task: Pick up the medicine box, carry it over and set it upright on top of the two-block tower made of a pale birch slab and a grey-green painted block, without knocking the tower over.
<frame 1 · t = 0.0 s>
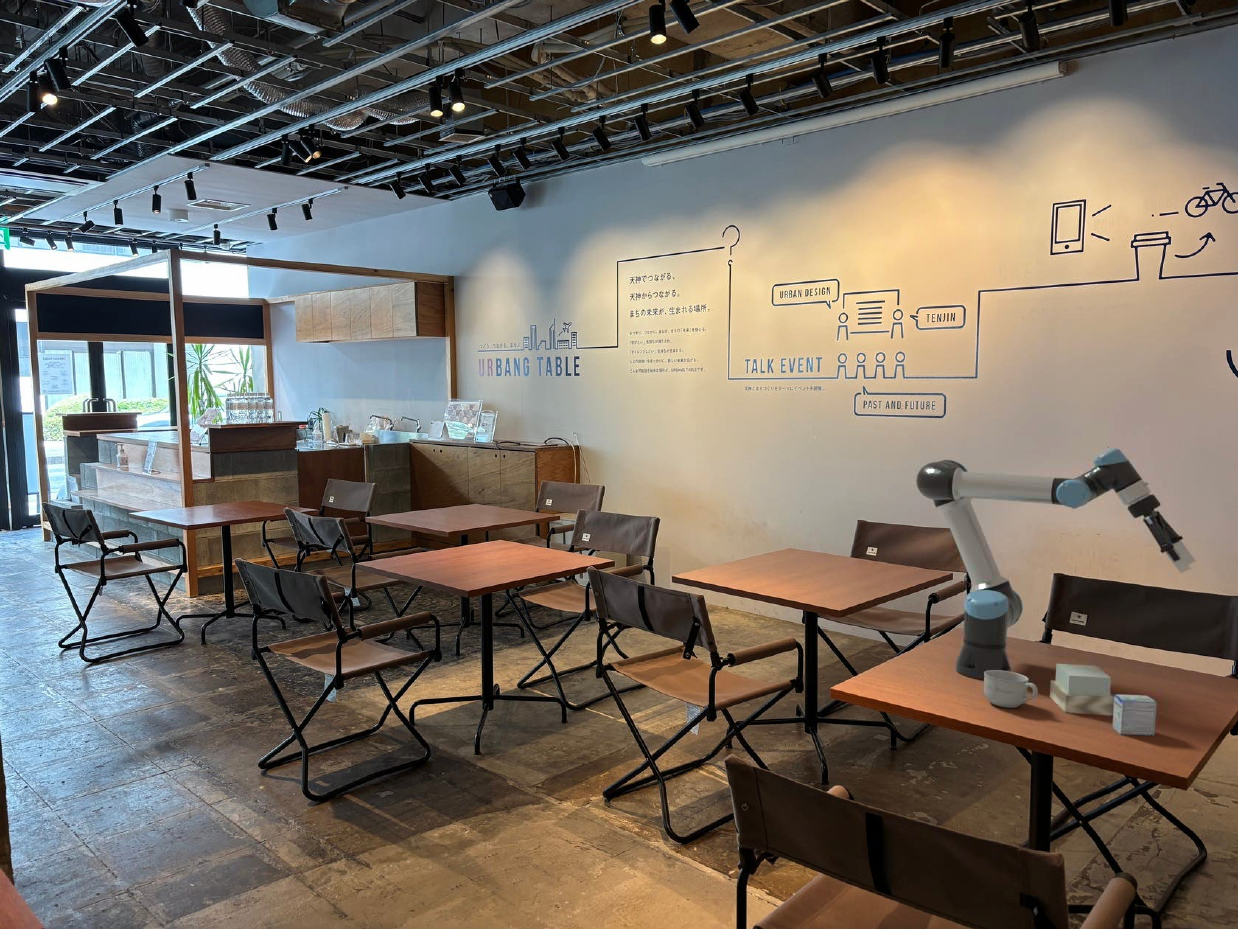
hand: (1188, 567, 235), 36 cm above the table, tool tilted 35°, fingers open, 13 cm apart
birch base block: (1081, 707, 230), on the table, touching grey-green top block
medicine box: (1133, 733, 212), on the table
teacup: (1009, 706, 229), on the table
grey-green top block: (1082, 689, 229), point 5 cm above the table, touching birch base block
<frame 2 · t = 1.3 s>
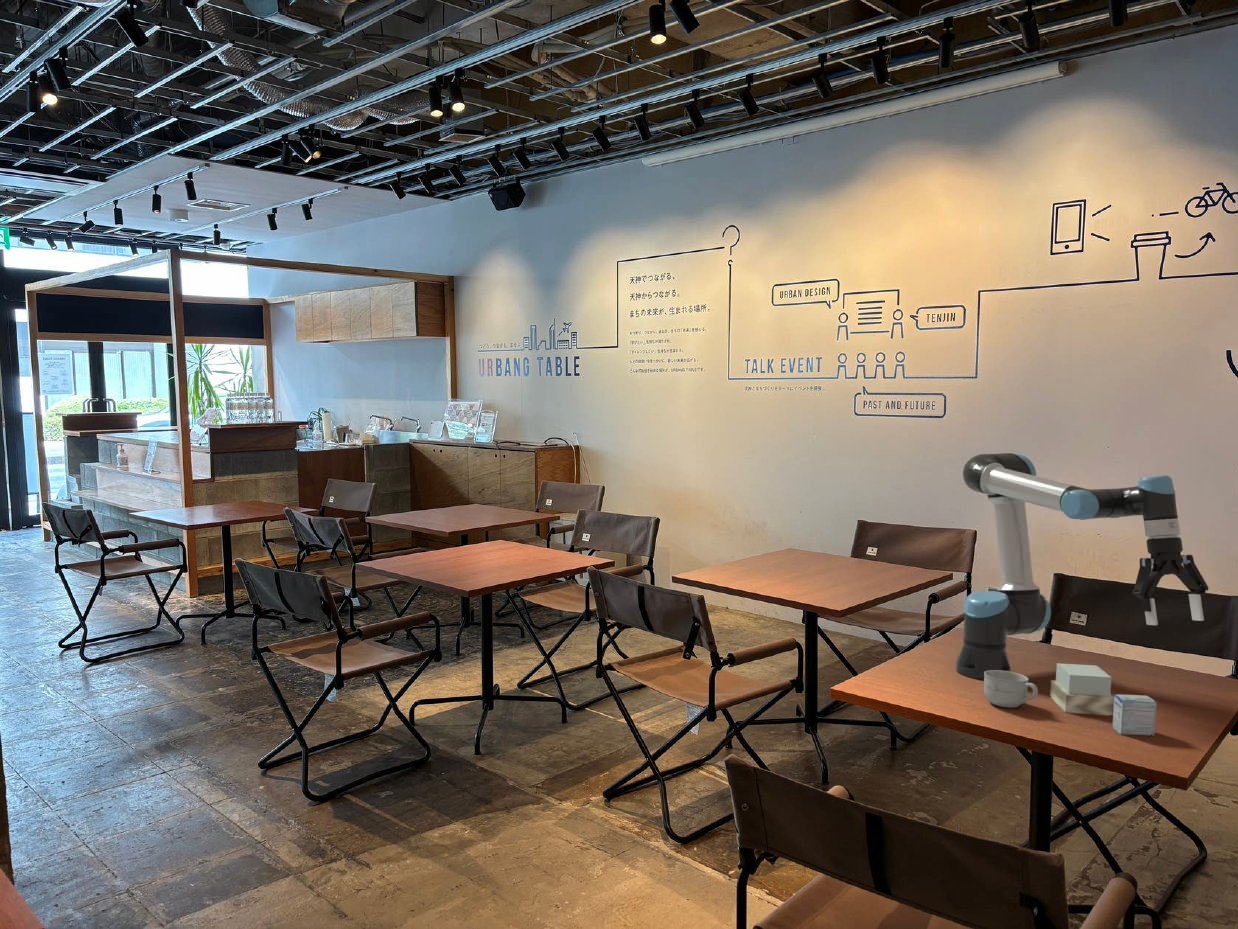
hand: (1175, 622, 216), 26 cm above the table, tool pointing down, fingers open, 13 cm apart
nothing on the table moved.
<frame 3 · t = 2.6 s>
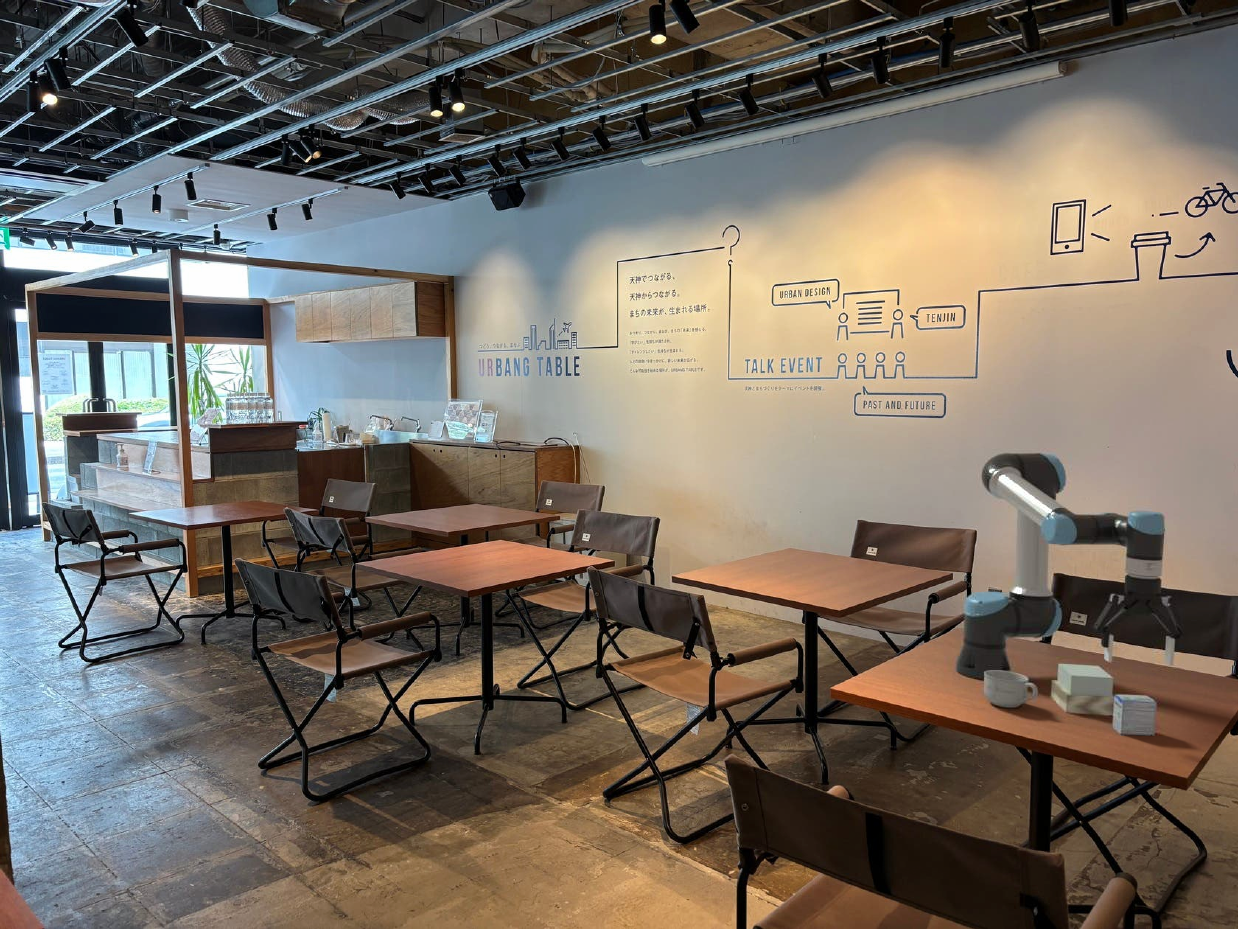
hand: (1138, 662, 211), 17 cm above the table, tool pointing down, fingers open, 13 cm apart
birch base block: (1082, 707, 230), on the table
grey-green top block: (1084, 689, 229), point 5 cm above the table
everything else where it was.
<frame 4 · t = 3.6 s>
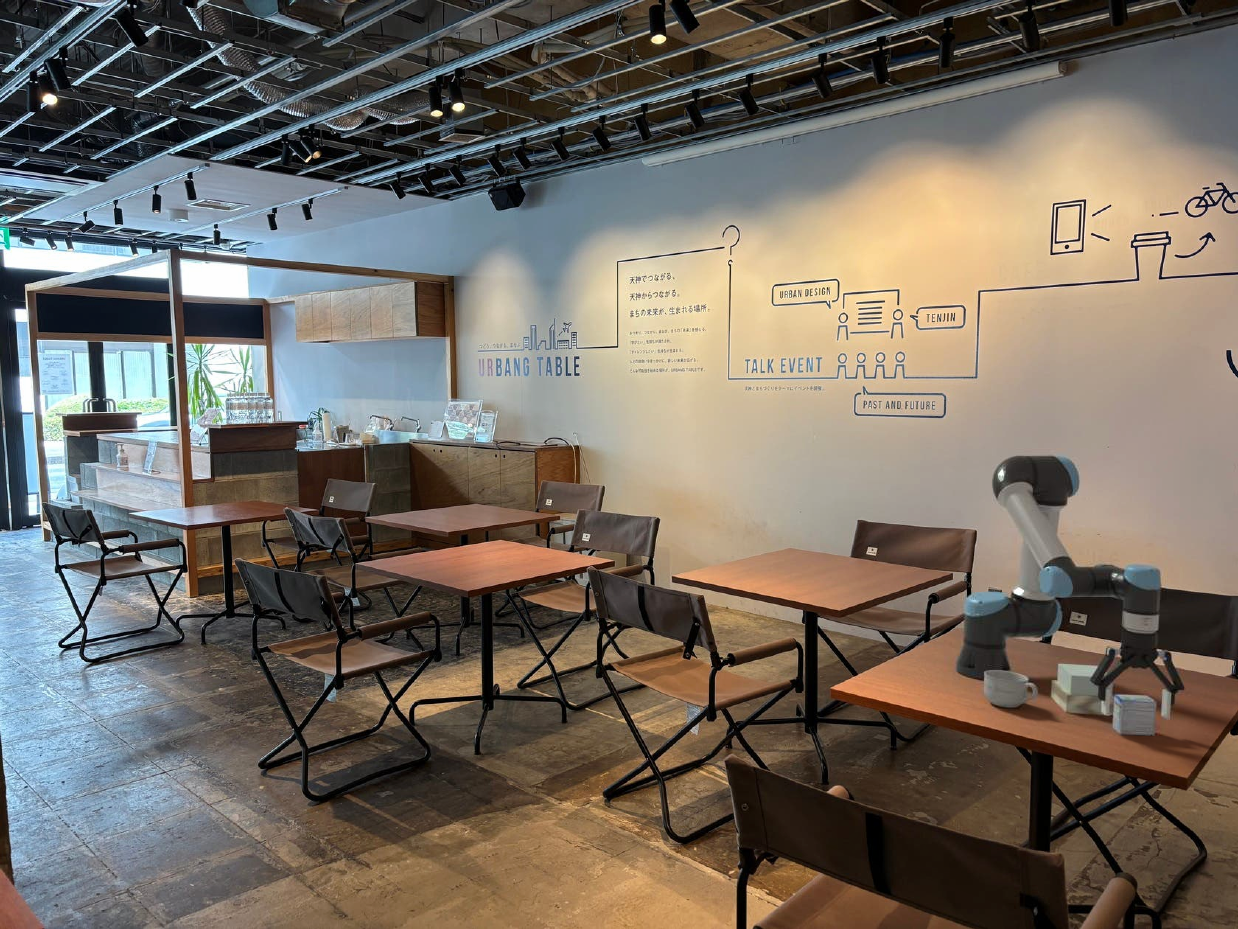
hand: (1135, 715, 212), 4 cm above the table, tool pointing down, fingers open, 13 cm apart
nothing on the table moved.
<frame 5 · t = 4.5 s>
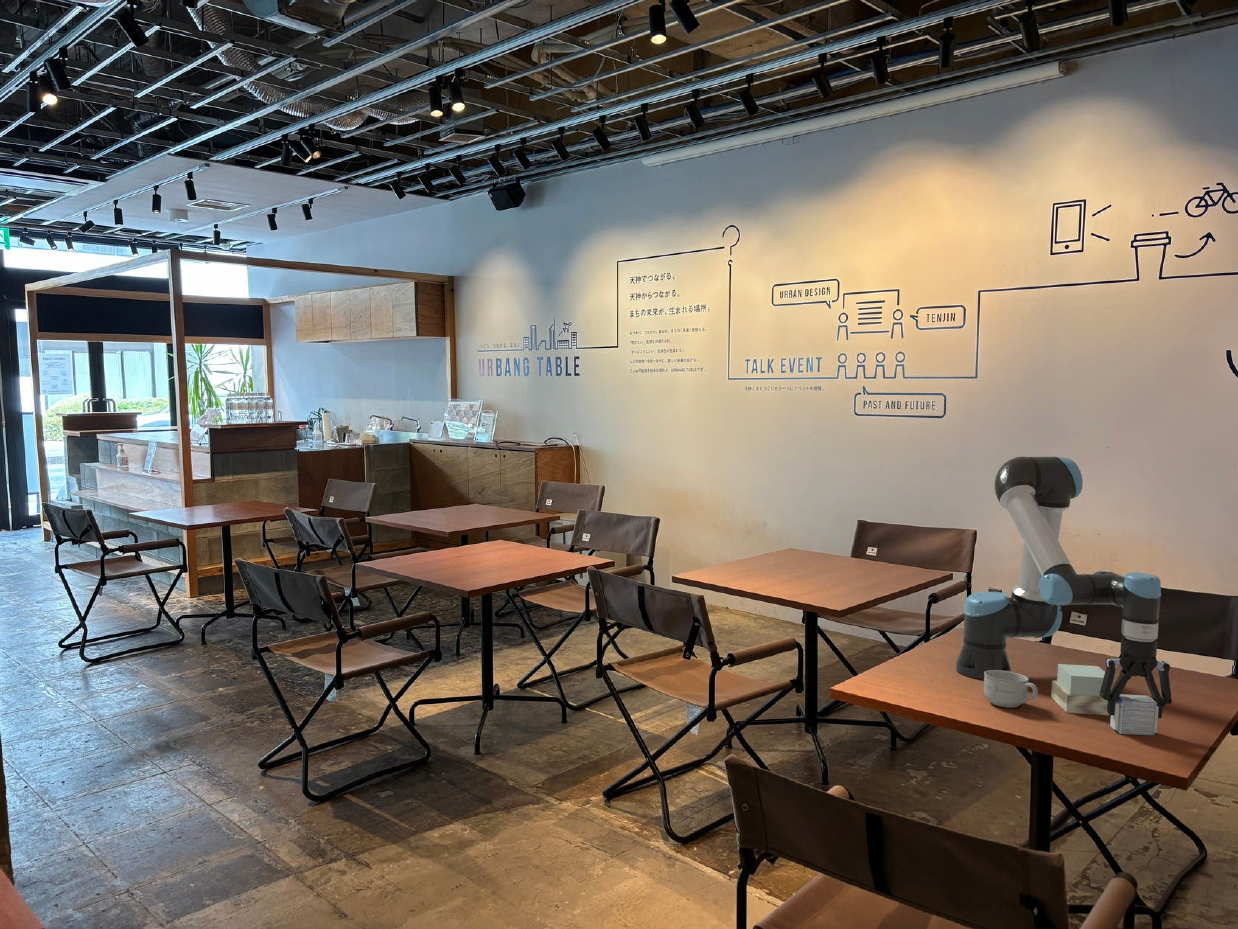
hand: (1133, 729, 212), 1 cm above the table, tool pointing down, fingers closed on medicine box, 8 cm apart
birch base block: (1082, 707, 230), on the table, touching grey-green top block
medicine box: (1133, 732, 212), on the table, touching gripper
grey-green top block: (1083, 689, 229), point 5 cm above the table, touching birch base block
everything else where it was.
when the fingers open (12 cm above the table, at t = 10.3 s): medicine box drops 2 cm, resting on grey-green top block.
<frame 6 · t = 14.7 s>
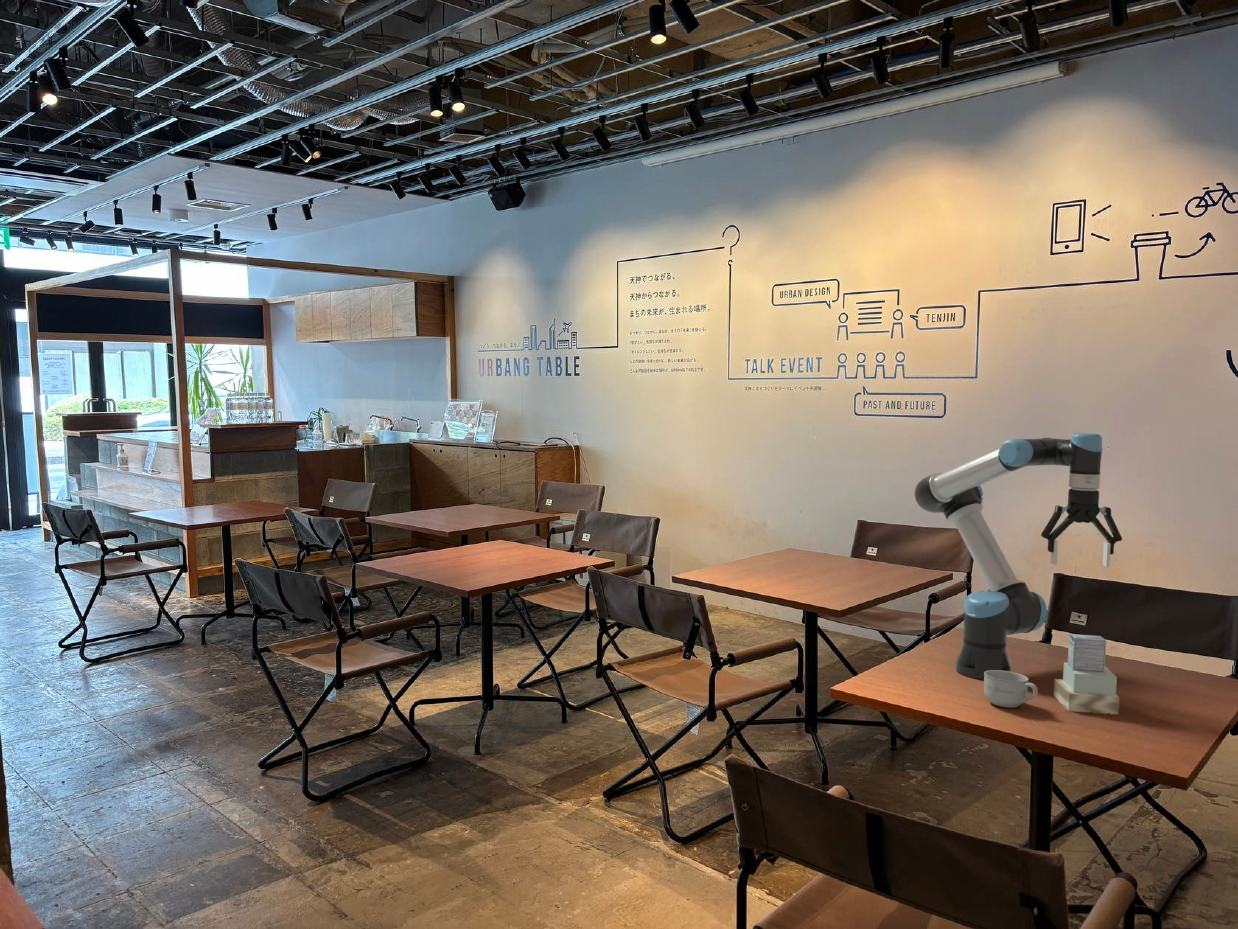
hand: (1079, 565, 242), 35 cm above the table, tool pointing down, fingers open, 13 cm apart
birch base block: (1085, 706, 231), on the table, touching grey-green top block
medicine box: (1085, 669, 230), point 9 cm above the table, touching grey-green top block
grey-green top block: (1088, 687, 231), point 5 cm above the table, touching birch base block, medicine box
everything else where it was.
at the end: medicine box 0.9 cm off-centre on the grey-green top block, point 4.8 cm above the grey-green top block's base; grey-green top block 0.7 cm off-centre on the birch base block, point 5.0 cm above the birch base block's base; medicine box tilted 1° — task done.
